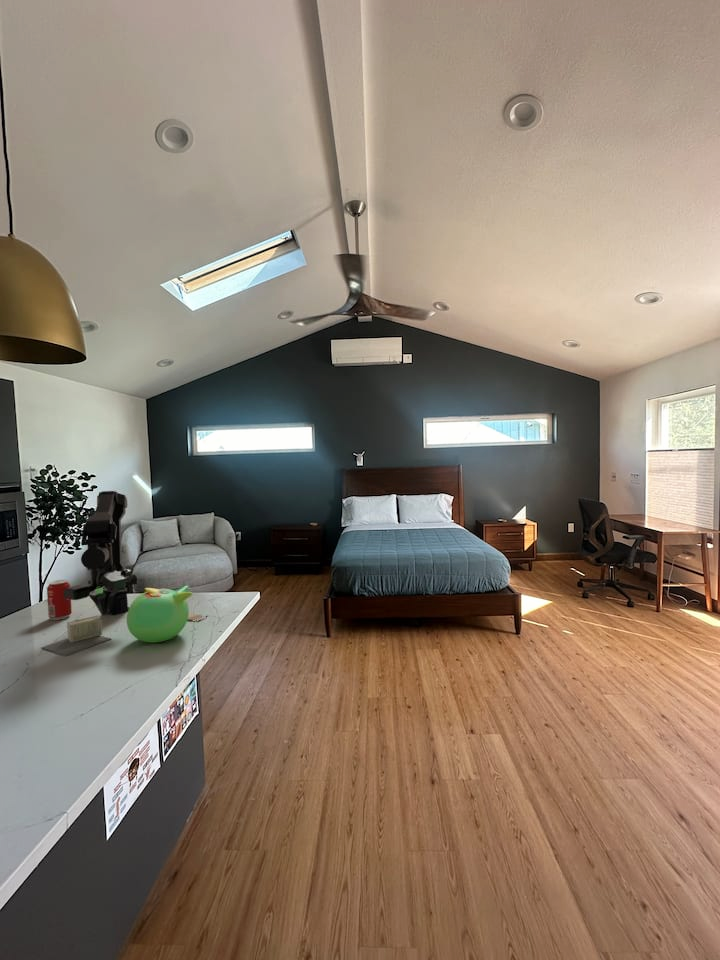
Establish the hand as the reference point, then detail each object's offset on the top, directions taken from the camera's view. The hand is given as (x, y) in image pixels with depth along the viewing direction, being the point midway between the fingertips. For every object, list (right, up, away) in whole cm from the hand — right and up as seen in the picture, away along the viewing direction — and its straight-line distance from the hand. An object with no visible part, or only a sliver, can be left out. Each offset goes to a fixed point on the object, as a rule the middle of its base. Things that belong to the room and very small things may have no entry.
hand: (104, 615), depth 129 cm
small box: (-1, -3, 0) cm, 3 cm away
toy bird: (+19, -5, -5) cm, 20 cm away
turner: (+18, -5, +12) cm, 22 cm away
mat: (-4, -6, -7) cm, 10 cm away
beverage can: (-24, -6, +17) cm, 30 cm away
